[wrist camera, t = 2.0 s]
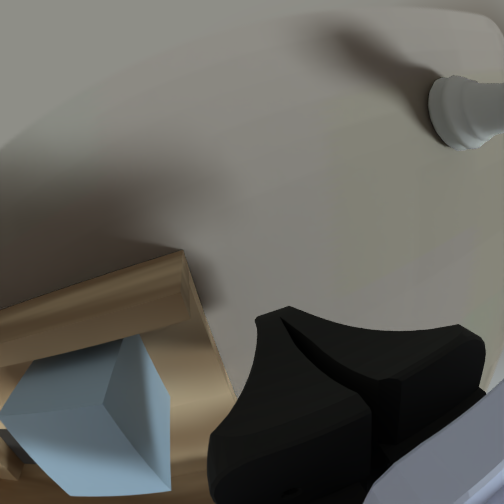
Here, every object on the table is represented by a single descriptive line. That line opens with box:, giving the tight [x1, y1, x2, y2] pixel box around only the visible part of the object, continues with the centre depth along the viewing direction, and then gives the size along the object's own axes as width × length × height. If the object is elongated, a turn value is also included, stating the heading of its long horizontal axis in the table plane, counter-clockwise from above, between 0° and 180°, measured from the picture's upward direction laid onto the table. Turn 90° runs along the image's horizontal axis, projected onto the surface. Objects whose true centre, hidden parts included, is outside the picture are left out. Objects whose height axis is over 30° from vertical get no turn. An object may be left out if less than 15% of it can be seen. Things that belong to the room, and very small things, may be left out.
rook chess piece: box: [428, 75, 504, 150], centre depth 10 cm, size 4×4×8 cm
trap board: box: [0, 250, 237, 504], centre depth 10 cm, size 12×22×5 cm, turn 105°
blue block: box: [0, 334, 171, 496], centre depth 8 cm, size 4×4×5 cm
